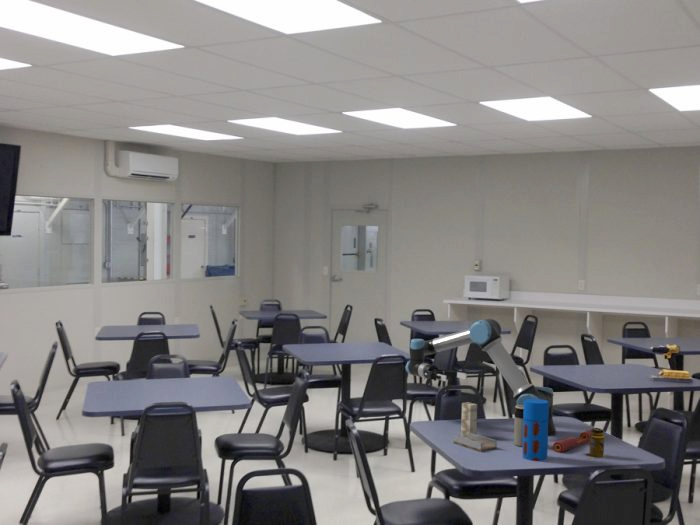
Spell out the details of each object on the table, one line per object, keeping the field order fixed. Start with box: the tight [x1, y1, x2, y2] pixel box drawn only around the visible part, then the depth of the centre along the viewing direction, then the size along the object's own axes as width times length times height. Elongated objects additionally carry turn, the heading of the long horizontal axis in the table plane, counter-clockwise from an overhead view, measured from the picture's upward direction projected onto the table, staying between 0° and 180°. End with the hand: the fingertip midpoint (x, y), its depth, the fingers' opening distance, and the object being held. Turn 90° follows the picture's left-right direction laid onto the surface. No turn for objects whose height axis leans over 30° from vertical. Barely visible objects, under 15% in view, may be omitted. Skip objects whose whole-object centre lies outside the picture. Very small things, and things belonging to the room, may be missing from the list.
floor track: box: [453, 432, 498, 453], centre depth 358 cm, size 18×10×4 cm, turn 34°
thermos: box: [522, 399, 549, 462], centre depth 340 cm, size 11×11×25 cm
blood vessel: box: [552, 427, 600, 454], centre depth 366 cm, size 42×5×5 cm, turn 138°
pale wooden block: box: [460, 401, 478, 438], centre depth 377 cm, size 6×4×16 cm
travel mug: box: [513, 404, 524, 447], centre depth 363 cm, size 8×8×18 cm
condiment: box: [581, 427, 608, 459], centre depth 346 cm, size 7×8×12 cm
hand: (456, 377), depth 385 cm, fingers open, 13 cm apart
